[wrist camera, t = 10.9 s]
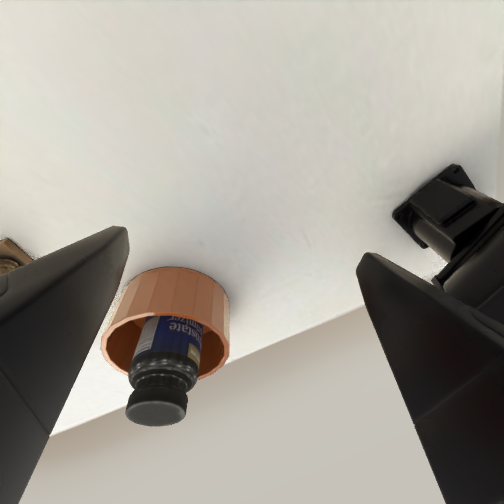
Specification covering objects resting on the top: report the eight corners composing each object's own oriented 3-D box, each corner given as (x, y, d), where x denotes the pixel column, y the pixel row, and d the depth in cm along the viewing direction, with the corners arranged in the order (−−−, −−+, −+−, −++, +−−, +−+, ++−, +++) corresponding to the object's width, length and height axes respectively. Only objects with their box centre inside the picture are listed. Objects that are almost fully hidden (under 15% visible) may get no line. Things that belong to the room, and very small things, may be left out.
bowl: (249, 297, 30) (253, 342, 25) (193, 347, 34) (188, 393, 30) (154, 247, 24) (136, 292, 20) (104, 315, 29) (80, 363, 24)
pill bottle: (215, 307, 29) (210, 411, 20) (182, 332, 32) (165, 435, 23) (171, 281, 26) (144, 389, 18) (138, 310, 29) (99, 419, 20)
